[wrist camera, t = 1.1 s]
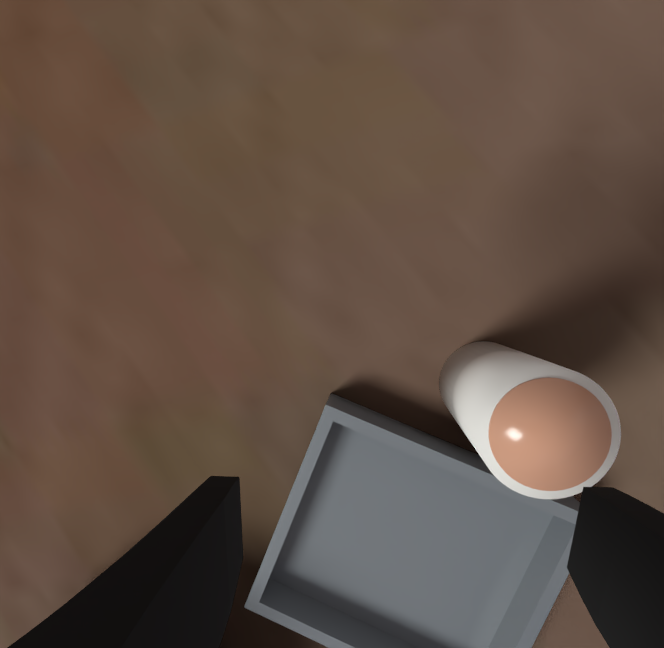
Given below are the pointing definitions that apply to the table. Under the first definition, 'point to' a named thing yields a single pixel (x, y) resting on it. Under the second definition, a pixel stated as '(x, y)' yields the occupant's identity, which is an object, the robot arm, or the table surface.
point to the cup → (531, 419)
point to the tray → (409, 543)
